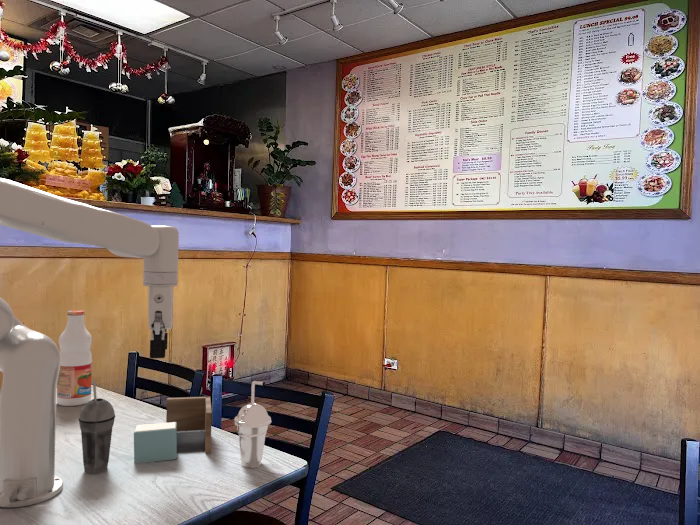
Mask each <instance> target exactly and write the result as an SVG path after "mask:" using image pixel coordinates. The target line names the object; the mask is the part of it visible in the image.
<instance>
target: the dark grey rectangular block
mask: <svg viewBox="0 0 700 525" xmlns="http://www.w3.org/2000/svg"><path fill="white" fill-rule="evenodd" d="M200 452H202V453H203V452H204V453H205V430H194V431H177V454H186V453H200Z"/></svg>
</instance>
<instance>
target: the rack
mask: <svg viewBox="0 0 700 525" xmlns="http://www.w3.org/2000/svg"><path fill="white" fill-rule="evenodd" d="M212 412H213V411H212V402H211V396H190V397H189V396H187V397H185V396H184V397H167V398H166V422H165V423H169V422H177V431H194V430H205V451H204V454H205V455H210V454H211V453H212V452H211V451H212V447H211V446H212V421H213V420H212V418H213V417H212V415H213V413H212Z"/></svg>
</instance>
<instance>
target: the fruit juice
mask: <svg viewBox="0 0 700 525" xmlns="http://www.w3.org/2000/svg"><path fill="white" fill-rule="evenodd" d="M85 316H86V312H85V310H79V309H78V310H74V309H73V310H67V312H66V317H67V322H66V325H65V328H64V330H63V331H62V332H61V334H60V336H59V338H58V346H59V347H58V348H59V352H60V357H61V363H60V370H59V376H58V381H57V389H56V404H57V405H58V406H63V407H74V406H75V407H76V406H82V405H83V406H84V405H85V404H86V403H87V402H89V401H91V400H92V380H93V378H92V375H93V374H92V372H93V371H92V369H93V366H92V364H93V356H92V355H93V354H92V351H91V346H92V342H93V339H92V338H93V336H92V334H91V333H90V332H89V330H87V327H86V324H85V319H84V318H85Z"/></svg>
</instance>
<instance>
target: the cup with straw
mask: <svg viewBox="0 0 700 525" xmlns="http://www.w3.org/2000/svg"><path fill="white" fill-rule="evenodd" d="M256 385H257V386H265V385H266V382H265V381H259V380H258V381H257V380H253V381H252V382H251V389H250V390H251V394H250V395H251V396H250V397H251V398H250V403H247V404H246V405H244V406H242V407H241V408H240V410H239V411H238V414H237V415H236V416H235V417H234V419H233V424H234V425H235V426H236V427H237V428H236V430H237V434H238V439H239V440H238V441H239V452H240V453H239V454H240V456H239V457H240V461H241V466H242V467H244V468H248V469H254V468H258V467H261V465H262V460H263V455H264V448H265V441H266V435H267V432H268V427H269V425H271V423H272V418H271V416H270V415H269V414H268V411H267V409H266V408H265V407H264V406H263V405H261V404H259V403H255V392H256V390H255V388H256V387H255V386H256Z"/></svg>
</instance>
